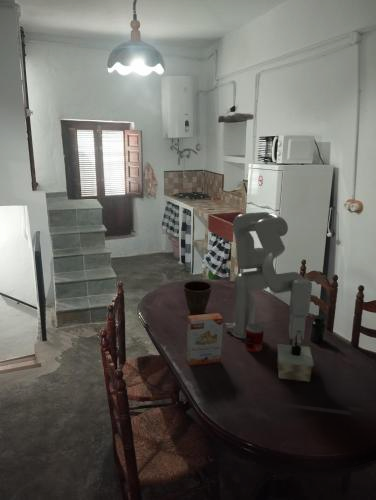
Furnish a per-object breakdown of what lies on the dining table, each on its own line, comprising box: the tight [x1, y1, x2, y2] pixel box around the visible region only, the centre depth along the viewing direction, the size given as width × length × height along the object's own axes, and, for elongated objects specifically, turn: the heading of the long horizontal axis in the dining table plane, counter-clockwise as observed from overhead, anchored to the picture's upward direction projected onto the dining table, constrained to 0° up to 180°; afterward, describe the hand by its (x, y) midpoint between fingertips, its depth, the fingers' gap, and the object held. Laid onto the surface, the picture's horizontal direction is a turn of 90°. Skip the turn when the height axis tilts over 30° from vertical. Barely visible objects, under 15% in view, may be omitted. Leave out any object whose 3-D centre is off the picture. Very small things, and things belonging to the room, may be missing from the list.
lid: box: [276, 337, 315, 368], centre depth 155 cm, size 13×13×8 cm
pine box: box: [276, 357, 313, 382], centre depth 157 cm, size 12×12×8 cm
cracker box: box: [186, 312, 224, 367], centre depth 163 cm, size 14×6×21 cm, turn 104°
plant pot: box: [183, 280, 212, 315], centre depth 210 cm, size 15×15×16 cm
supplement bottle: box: [309, 314, 327, 344], centre depth 183 cm, size 7×7×12 cm
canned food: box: [244, 323, 264, 353], centre depth 174 cm, size 8×8×11 cm
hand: (295, 349), depth 155 cm, fingers open, 7 cm apart
